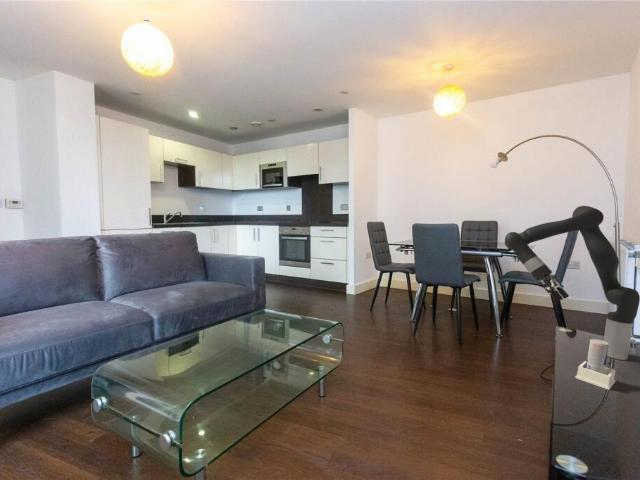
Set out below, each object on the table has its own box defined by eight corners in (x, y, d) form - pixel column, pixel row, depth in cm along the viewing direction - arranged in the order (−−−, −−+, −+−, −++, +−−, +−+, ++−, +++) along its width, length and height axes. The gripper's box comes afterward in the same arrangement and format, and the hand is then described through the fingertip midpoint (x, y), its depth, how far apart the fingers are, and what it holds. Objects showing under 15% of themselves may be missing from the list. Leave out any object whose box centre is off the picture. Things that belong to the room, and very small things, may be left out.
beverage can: (606, 382, 129) (612, 345, 128) (590, 380, 130) (595, 342, 129) (598, 375, 135) (603, 339, 133) (582, 373, 136) (587, 337, 135)
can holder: (582, 371, 140) (584, 360, 139) (615, 382, 132) (616, 370, 131) (575, 378, 133) (576, 366, 133) (609, 389, 125) (610, 377, 125)
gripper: (538, 264, 148) (566, 296, 140) (549, 262, 157) (576, 292, 149) (524, 274, 152) (550, 305, 145) (535, 271, 161) (561, 301, 154)
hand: (563, 298), depth 147 cm, fingers open, 8 cm apart
